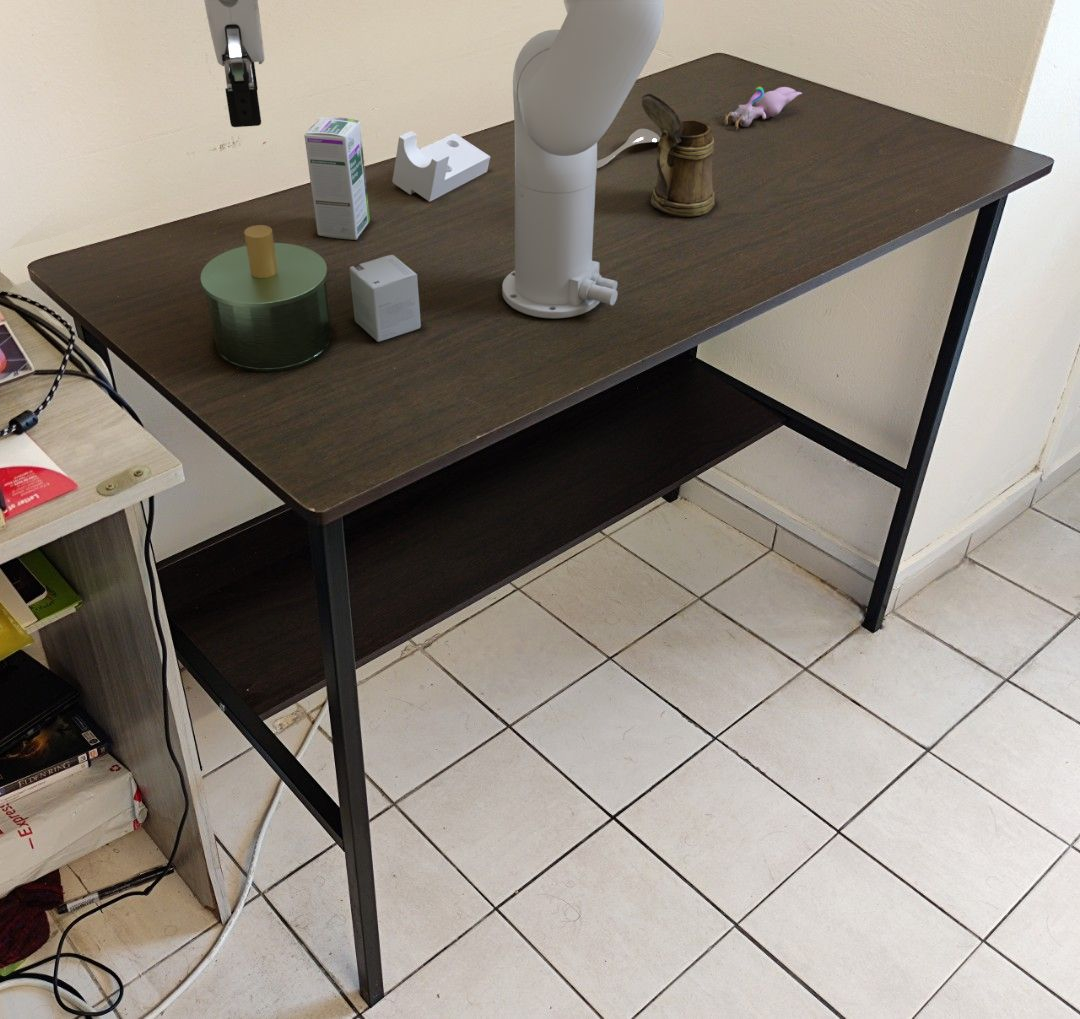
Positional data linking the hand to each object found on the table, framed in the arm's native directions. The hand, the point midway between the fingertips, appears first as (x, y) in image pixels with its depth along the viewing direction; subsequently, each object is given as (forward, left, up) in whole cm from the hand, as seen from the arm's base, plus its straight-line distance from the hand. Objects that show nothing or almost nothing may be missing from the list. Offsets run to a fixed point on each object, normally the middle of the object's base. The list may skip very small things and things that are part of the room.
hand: (244, 108), depth 130 cm
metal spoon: (-15, -60, -25) cm, 67 cm away
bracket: (+2, -40, -25) cm, 47 cm away
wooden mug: (-30, -50, -25) cm, 64 cm away
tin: (-6, +7, -24) cm, 26 cm away
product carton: (-15, -3, -25) cm, 29 cm away
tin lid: (-6, +7, -16) cm, 18 cm away
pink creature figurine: (-28, -88, -25) cm, 96 cm away
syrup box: (+5, -20, -25) cm, 32 cm away
